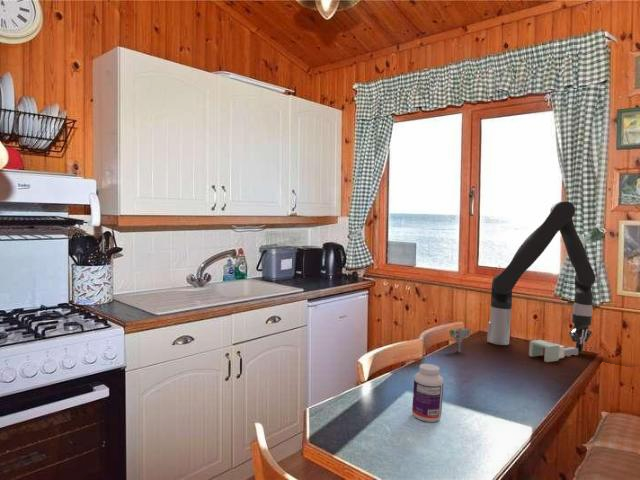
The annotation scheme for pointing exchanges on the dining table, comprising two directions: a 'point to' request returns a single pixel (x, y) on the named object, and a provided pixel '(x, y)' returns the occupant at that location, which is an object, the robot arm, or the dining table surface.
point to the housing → (550, 350)
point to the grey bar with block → (567, 351)
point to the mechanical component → (459, 336)
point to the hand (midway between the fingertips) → (579, 351)
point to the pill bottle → (427, 393)
